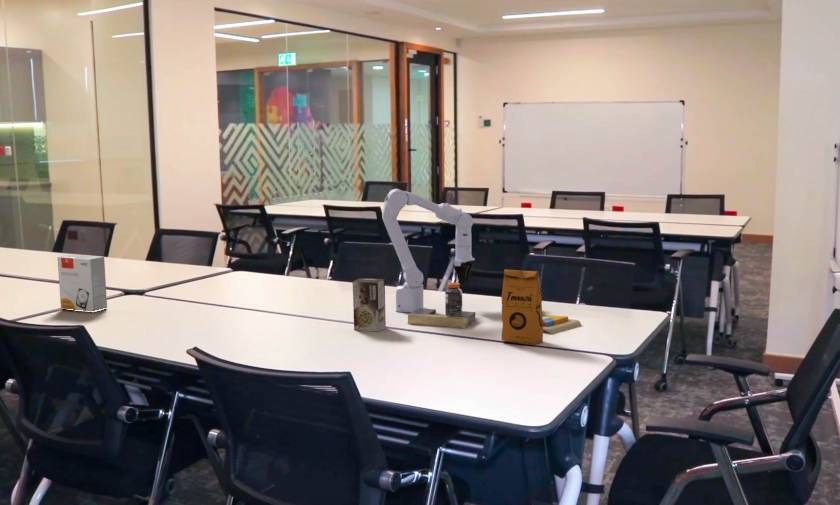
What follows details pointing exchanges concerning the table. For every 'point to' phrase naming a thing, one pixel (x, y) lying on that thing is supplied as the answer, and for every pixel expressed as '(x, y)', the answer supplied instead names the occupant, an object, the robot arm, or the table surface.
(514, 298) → the coffee package
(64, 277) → the hard drive box
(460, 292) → the pill bottle
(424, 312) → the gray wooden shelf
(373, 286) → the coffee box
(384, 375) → the table surface
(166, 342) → the table surface
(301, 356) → the table surface
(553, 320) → the wooden puzzle
